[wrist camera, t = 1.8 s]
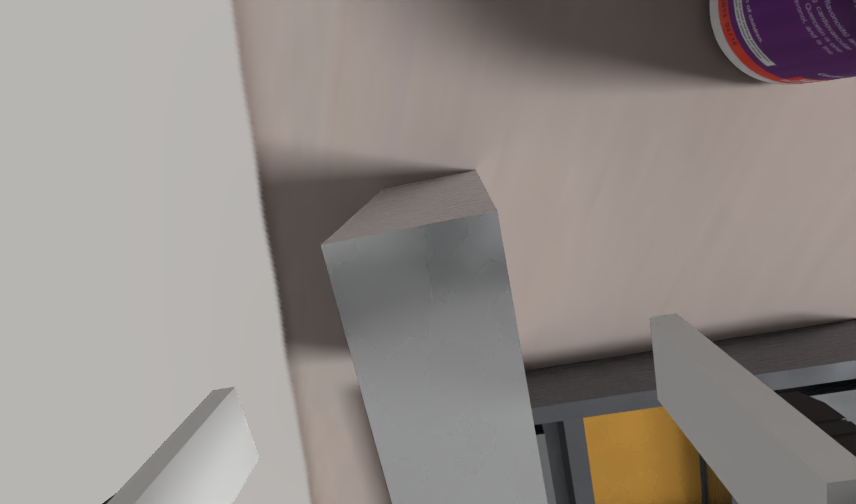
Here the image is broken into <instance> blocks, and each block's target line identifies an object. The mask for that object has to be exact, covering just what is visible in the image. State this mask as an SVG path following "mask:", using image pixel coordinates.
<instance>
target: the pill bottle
mask: <svg viewBox="0 0 856 504" xmlns="http://www.w3.org/2000/svg"><path fill="white" fill-rule="evenodd" d="M709 7H710V20H711V25H712V29H713V32H714V35H715V38H716V41H717V42H718V44H719V46H720V48H721V50H722V51H723V53H724V54H725V55H726V56H727V58H728V59H729V60H730V61H731V62H732V63H733V64H734V65H735V66H736V67H737V68H739V69H740V70H741V71H743V72H744V73H746V74H747V75H749V76H751V77H753V78H756V79H758V80H761V81H765V82H768V83H775V84H802V83H812V82H819V81H827V80H834V79H841V78H848V77H855V76H856V0H710V3H709Z"/></svg>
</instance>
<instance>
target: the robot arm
mask: <svg viewBox="0 0 856 504" xmlns="http://www.w3.org/2000/svg"><path fill="white" fill-rule="evenodd" d="M650 326H651V336H652V346H653V356H654V367H655V377H656V387H657V397H658V400H659V402H660V403H661V404H662V406H663V407H664V408H665V409H666V411H667V412H668V413H669V415H670V416H671V417H672V418H673V420H674V421H675V422H676V424H677V425H678V426H679V428H680V429H681V430H682V431H683V433H684V434H685V435H686V437H687V438H688V439H689V440H690V442H691V443H692V444H693V446H694V447H695V448H696V450H697V451H698V452H699V453H700V455H701V456H702V457H703V459H704V460H705V461H706V462H707V464H708V465H709V466H710V468H711V469H712V470H713V471H714V473H715V474H716V475H717V477H718V478H719V479H720V481H721V482H722V483H723V484H724V486H725V487H726V488H727V490H728V491H729V492H730V493H731V495H732V496H733V497H734V499H735V500H736V501H737V503H738V504H856V425H855V424H854V423H852V422H851V421H847V419H846V417H844V416H843V415H841V414H840V413H839V412H837V411H836V410H834V409H833V408H832V407H830V406H829V405H828V404H826V403H825V402H822V401H820V400H817V399H815V398H813V397H810V396H808V395H806V394H803V393H801V392H798V391H793V392H787V393H780V394H776V393H775V392H774V391H773V390H771V389H770V388H769V387H768V386H766V385H765V384H764V383H763V382H761V381H760V380H759V379H758V378H756V377H755V376H754V375H753V374H751V373H750V372H749V371H748V370H746V369H745V368H744V367H743V366H741V365H740V364H739V363H738V362H736V361H735V360H734V359H733V358H731V357H730V356H729V355H728V354H726V353H725V352H724V351H723V350H721V349H720V348H719V347H718V346H717V345H715V344H714V343H713V342H712V341H710V340H709V339H708V338H707V337H705V336H704V335H703V334H702V333H700V332H699V331H698V330H697V329H695V328H694V327H693V326H692V325H690V324H689V323H688V322H687V321H685V320H684V319H683V318H682V317H680V316H679V315H678V314H677V313H676V314H670V315H664V316H658V317H652V318H650ZM258 460H259V456H258V453H257V450H256V447H255V444H254V442H253V439H252V436H251V433H250V430H249V427H248V424H247V421H246V418H245V415H244V413H243V409H242V406H241V404H240V401H239V398H238V395H237V392H236V389H235V387H231V388H225V389H219V390H213V391H212V392H211V393H210V394H209V395H208V396H207V397H206V398H205V399H204V400H203V401H202V403H201V404H200V405H199V406H198V407H197V408H196V409H195V410H194V411H193V412H192V413H191V414H190V415H189V416H188V418H187V419H186V420H185V421H184V422H183V423H182V424H181V425H180V426H179V427H178V428H177V429H176V430H175V431H174V432H173V433H172V435H171V436H170V437H169V438H168V439H167V440H166V441H165V442H164V443H163V444H162V445H161V446H160V448H158V450H157V451H156V452H155V453H154V454H153V455H152V456H151V457H150V458H149V459H148V460H147V461H146V462H145V463H144V464H143V466H142V467H141V468H140V469H139V470H138V471H137V472H136V473H135V474H134V476H132V477H131V478H130V479H129V480H128V482H127V483H126V484H125V485H124V486H123V487H122V488H121V489H120V490H119V491H118V492H117V493H116V494H115V495H113V496H112V497H111V498H109V499H108V500H107V501H105V502H104V503H103V504H233V502H234V500H235V499H236V497H237V495H238V494H239V492H240V490H241V489H242V487H243V485H244V484H245V482H246V480H247V479H248V477H249V475H250V473H251V472H252V470H253V468H254V467H255V465H256V463H257V462H258Z"/></svg>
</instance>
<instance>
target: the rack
mask: <svg viewBox="0 0 856 504" xmlns="http://www.w3.org/2000/svg"><path fill="white" fill-rule="evenodd" d="M713 343H714V344H715V345H717V346H718V347H719V348H720V349H721V350H723V351H724V352H725V353H726V354H728V355H729V356H730V357H731V358H733V359H734V360H735V361H736V362H738V363H739V364H740V365H741V366H743V367H744V368H745V369H746V370H748V371H749V372H750V373H751V374H753V375H754V376H755V377H756V378H758V379H759V380H760V381H761V382H763V383H764V384H765V385H766V386H768V387H769V388H770V389H771V390H773V391H774V392H775V393H776V394H780V393H787V392H793V391H798V392H801V393H803V394H806V395H808V396H810V397H813V398H815V399H817V400H820V401H822V402H825V403H826V404H828V405H829V406H830V407H832V408H833V409H834V410H836V411H837V412H839V413H840V414H841V415H843V416H844V417H846V419H847V421H851V422H852V423H854V424H855V425H856V319H854V320H848V321H842V322H835V323H829V324H822V325H816V326H810V327H803V328H797V329H790V330H784V331H778V332H771V333H765V334H758V335H752V336H746V337H739V338H733V339H727V340H720V341H714V342H713ZM525 375H526V381H527V387H528V392H529V398H530V404H531V410H532V416H533V421H534V427H535V433H536V439H537V445H538V450H539V456H540V462H541V468H542V474H543V479H544V485H545V491H546V497H547V503H548V504H738V503H737V501H736V500H735V499H734V497H733V496H732V495H731V493H730V492H729V491H728V490H727V488H726V487H725V486H724V484H723V483H722V482H721V481H720V479H719V478H718V477H717V475H716V474H715V473H714V471H713V470H712V469H711V468H710V466H709V465H708V464H707V462H706V461H705V460H704V459H703V457H702V456H701V455H700V453H699V452H698V451H697V450H696V448H695V447H694V446H693V444H692V443H691V442H690V440H689V439H688V438H687V437H686V435H685V434H684V433H683V431H682V430H681V429H680V428H679V426H678V425H677V424H676V422H675V421H674V420H673V418H672V417H671V416H670V415H669V413H668V412H667V411H666V409H665V408H664V407H663V406H662V404H661V403H660V402H659V400H658V397H657V387H656V377H655V367H654V356H653V351H650V352H643V353H637V354H631V355H624V356H618V357H612V358H605V359H599V360H592V361H586V362H580V363H573V364H567V365H560V366H554V367H548V368H541V369H535V370H528V371H525Z"/></svg>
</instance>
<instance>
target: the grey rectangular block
mask: <svg viewBox="0 0 856 504" xmlns="http://www.w3.org/2000/svg"><path fill="white" fill-rule="evenodd" d="M321 249H322V252H323V256H324V260H325V263H326V267H327V270H328V274H329V278H330V281H331V285H332V289H333V292H334V296H335V299H336V303H337V307H338V310H339V314H340V317H341V321H342V325H343V328H344V332H345V335H346V339H347V343H348V346H349V350H350V354H351V357H352V361H353V364H354V368H355V372H356V375H357V379H358V382H359V386H360V390H361V393H362V397H363V400H364V404H365V408H366V411H367V415H368V419H369V422H370V426H371V429H372V433H373V437H374V440H375V444H376V447H377V451H378V455H379V458H380V462H381V466H382V469H383V473H384V476H385V480H386V484H387V487H388V491H389V494H390V498H391V502H392V504H548V503H547V497H546V491H545V485H544V479H543V474H542V468H541V462H540V456H539V450H538V445H537V439H536V433H535V427H534V421H533V416H532V410H531V404H530V398H529V392H528V387H527V381H526V375H525V369H524V363H523V358H522V352H521V346H520V340H519V334H518V329H517V323H516V317H515V311H514V305H513V300H512V294H511V288H510V282H509V276H508V271H507V265H506V259H505V253H504V247H503V242H502V236H501V230H500V224H499V218H498V213H497V209H496V208H495V206H494V204H493V202H492V200H491V198H490V196H489V194H488V192H487V190H486V188H485V187H484V185H483V183H482V181H481V179H480V177H479V175H478V173H477V171H476V170H473V171H468V172H463V173H458V174H453V175H448V176H444V177H439V178H434V179H429V180H424V181H419V182H414V183H409V184H405V185H400V186H395V187H390V188H385V189H382V190H381V191H380V192H379V193H378V194H377V195H376V196H375V197H374V198H372V199H371V200H370V201H369V202H368V203H367V204H366V205H365V206H363V207H362V208H361V209H360V210H359V211H358V212H357V213H356V214H355V215H353V216H352V217H351V218H350V219H349V220H348V221H347V222H346V223H345V224H343V225H342V226H341V227H340V228H339V229H338V230H337V231H336V232H335V233H333V234H332V235H331V236H330V237H329V238H328V239H327V240H326V241H325V242H323V243H322V244H321Z"/></svg>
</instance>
